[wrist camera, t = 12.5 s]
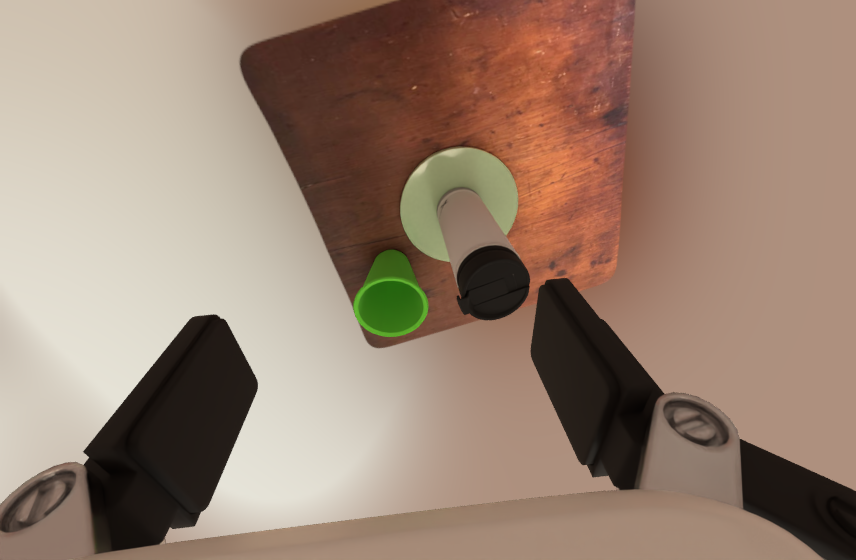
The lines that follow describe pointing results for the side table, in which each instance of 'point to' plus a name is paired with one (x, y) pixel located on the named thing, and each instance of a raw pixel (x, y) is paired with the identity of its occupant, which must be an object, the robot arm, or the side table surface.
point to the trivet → (449, 173)
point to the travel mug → (481, 257)
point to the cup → (390, 297)
